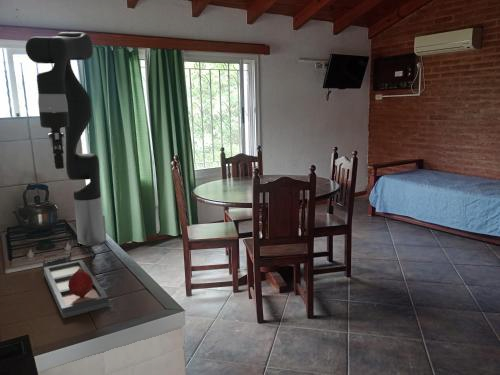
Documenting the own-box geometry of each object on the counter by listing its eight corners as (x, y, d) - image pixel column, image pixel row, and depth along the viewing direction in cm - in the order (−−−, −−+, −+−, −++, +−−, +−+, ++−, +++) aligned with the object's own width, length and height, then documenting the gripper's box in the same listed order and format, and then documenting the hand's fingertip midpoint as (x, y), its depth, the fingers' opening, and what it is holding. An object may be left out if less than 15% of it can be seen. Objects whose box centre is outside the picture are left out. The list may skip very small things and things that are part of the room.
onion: (70, 304, 102) (67, 274, 100) (68, 294, 107) (66, 266, 105) (95, 299, 105) (92, 270, 103) (92, 290, 110) (90, 262, 108)
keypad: (44, 275, 123) (43, 267, 123) (82, 267, 129) (81, 259, 129) (62, 318, 98) (61, 308, 98) (108, 306, 104) (108, 296, 104)
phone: (42, 268, 126) (46, 252, 140) (42, 272, 127) (46, 255, 140) (69, 265, 129) (71, 249, 143) (70, 268, 130) (71, 252, 143)
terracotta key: (61, 297, 107) (61, 295, 107) (93, 289, 111) (93, 288, 111) (67, 309, 100) (67, 308, 100) (101, 301, 105) (101, 299, 104)
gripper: (39, 109, 121) (45, 163, 125) (38, 111, 109) (45, 171, 112) (66, 109, 125) (71, 162, 128) (69, 111, 112) (74, 169, 116)
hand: (59, 166), depth 120 cm, fingers open, 8 cm apart
